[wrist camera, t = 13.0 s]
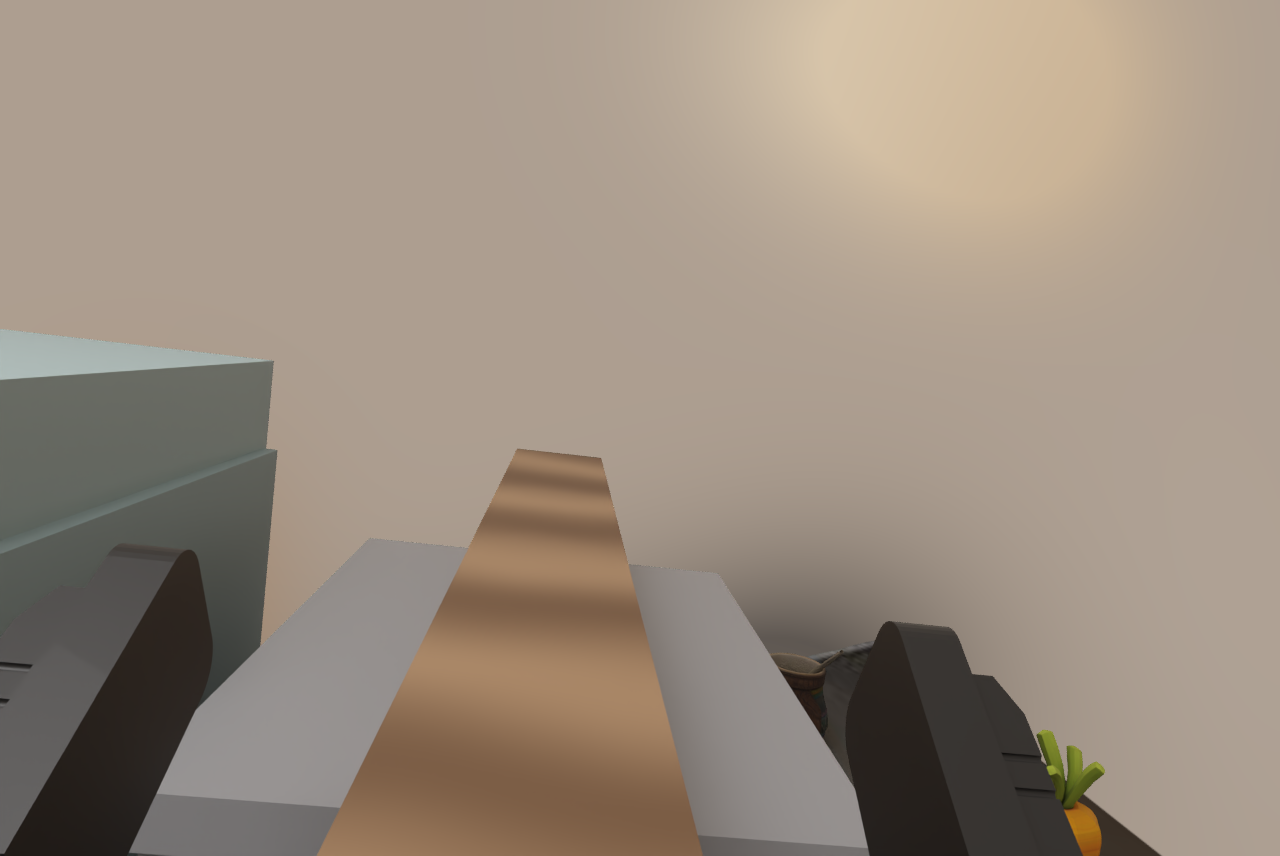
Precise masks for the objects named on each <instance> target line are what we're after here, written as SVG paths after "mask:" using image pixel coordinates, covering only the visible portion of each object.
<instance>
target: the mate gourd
mask: <svg viewBox="0 0 1280 856" xmlns="http://www.w3.org/2000/svg"><path fill="white" fill-rule="evenodd" d="M842 654H843V651H842V650H841V651H840V652H837V653H836V654H834V656H832V657H831V658H830V659H828V660H827V661H824V663H822V664H820V663H818V662H816V661H814V660H812V659H809V658H807V657H804V656H800V655H795V654H789V653H773V654H769V655H770V656H771V658H772V659H773V661H774V662H775V664H776V666H777V667H778V669H779V670H780V672H781V673H782V675H783V677H784V678H785V680H786V681H787V683H788V685H789V686H790V688H791V689H792V691H793V692H794V694H795V696H796V697H797V699H798V700H799V702H800V703H801V705H802V707H803V708H804V710H805V711H806V713H807V715H808V716H809V718H810V719H811V721H812V722H813V724H814V726H815V727H816V729H817V730H818V732H819V733H820V735H821V737H822V738H823V737H824V733H825V731H826V727H827V726H828V724H827V722H828V717H827V708H826V705H825V701H824V696H823V684H824V680H825V674H826V670H825V667H826V666H828V665H829V664H831V663H832V662H833V661H834V660H836V659H837V658H838V657H839V656H841V655H842Z"/></svg>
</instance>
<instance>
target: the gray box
mask: <svg viewBox="0 0 1280 856" xmlns="http://www.w3.org/2000/svg"><path fill="white" fill-rule="evenodd" d="M467 550H468V548H462V547H452V546H442V545H432V544H422V543H413V542H403V541H392V540H382V539H373V538H370V539H369V540H367V541H366V543H364V544H363V546H361V548H359V549H358V550H357V551H356V552H355V553H354V554H353V555H352V556H351V557H350V558H349V559H348V560H347V561H346V562H345V563H344V564H343V565H342V566H341V567H340V568H339V569H338V570H337V571H336V572H335V573H334V574H333V575H332V576H331V577H330V578H329V579H328V580H327V581H326V582H325V583H324V584H323V585H322V586H321V587H320V588H319V589H318V590H317V591H316V592H315V593H314V594H313V595H312V596H311V597H310V598H309V599H308V600H307V601H306V602H305V603H304V604H303V605H302V606H301V607H300V608H299V609H298V610H297V611H296V612H295V613H294V614H293V615H292V616H291V617H290V618H289V619H288V620H287V621H286V622H284V624H283V625H281V626H280V627H279V628H278V630H276V632H274V633H273V634H272V635H271V636H270V638H268V639H267V640H266V641H265V642H264V643H263V644H262V645H261V646H260V647H259V648H258V649H257V650H256V651H255V652H254V653H253V654H252V655H251V656H250V657H249V658H248V659H247V660H246V661H245V662H244V663H243V664H242V665H241V666H240V667H239V668H238V669H237V670H236V671H235V672H234V673H233V674H232V675H231V676H230V677H229V678H228V679H227V680H226V681H225V682H224V683H223V684H222V685H221V686H220V687H219V688H218V689H217V690H216V691H215V692H214V693H213V694H212V695H211V696H210V697H209V698H208V699H207V700H206V701H205V702H204V703H202V704H201V705H200V706H199V707H198V708H197V709H196V711H195V713H194V715H193V717H192V719H191V721H190V723H189V725H188V728H187V730H186V732H185V734H184V736H183V738H182V740H181V742H180V745H179V747H178V749H177V751H176V753H175V755H174V757H173V759H172V762H171V764H170V766H169V768H168V770H167V772H166V774H165V776H164V779H163V781H162V783H161V785H160V787H159V789H158V791H157V793H156V796H155V798H154V800H153V802H152V804H151V806H150V808H149V811H148V813H147V815H146V817H145V819H144V821H143V823H142V825H141V828H140V830H139V832H138V834H137V836H136V838H135V840H134V842H133V845H132V847H131V849H130V851H129V853H138V854H137V856H317V854H318V852H319V850H320V848H321V846H322V844H323V842H324V840H325V838H326V836H327V834H328V832H329V830H330V828H331V826H332V824H333V822H334V820H335V818H336V815H337V813H338V811H339V809H340V807H341V805H342V803H343V801H344V799H345V797H346V795H347V793H348V791H349V789H350V787H351V785H352V783H353V781H354V779H355V777H356V775H357V773H358V771H359V769H360V767H361V765H362V763H363V761H364V759H365V757H366V755H367V753H368V751H369V749H370V747H371V745H372V742H373V740H374V738H375V736H376V734H377V732H378V730H379V728H380V726H381V724H382V722H383V720H384V718H385V716H386V714H387V712H388V710H389V708H390V706H391V704H392V702H393V700H394V698H395V696H396V694H397V692H398V690H399V688H400V686H401V684H402V682H403V680H404V678H405V676H406V674H407V671H408V669H409V667H410V665H411V663H412V661H413V659H414V657H415V655H416V653H417V651H418V649H419V647H420V645H421V643H422V641H423V639H424V637H425V635H426V633H427V631H428V629H429V627H430V625H431V623H432V621H433V619H434V617H435V615H436V613H437V611H438V609H439V607H440V605H441V603H442V600H443V598H444V596H445V594H446V592H447V590H448V588H449V586H450V584H451V582H452V580H453V578H454V576H455V574H456V572H457V570H458V568H459V566H460V564H461V562H462V560H463V558H464V556H465V554H466V552H467ZM628 565H629V569H630V573H631V577H632V581H633V585H634V589H635V592H636V596H637V600H638V604H639V608H640V612H641V616H642V620H643V624H644V628H645V631H646V635H647V639H648V643H649V647H650V651H651V655H652V659H653V663H654V667H655V670H656V674H657V678H658V682H659V686H660V690H661V694H662V698H663V702H664V706H665V709H666V713H667V717H668V721H669V725H670V729H671V733H672V737H673V741H674V745H675V748H676V752H677V756H678V760H679V764H680V768H681V772H682V776H683V780H684V784H685V787H686V791H687V795H688V799H689V803H690V807H691V811H692V815H693V819H694V823H695V826H696V830H697V834H698V838H699V842H700V846H701V850H702V854H703V856H869V851H868V846H867V842H866V837H865V833H864V828H863V823H862V819H861V814H860V810H859V805H858V800H857V796H856V791H855V789H854V787H853V786H852V784H851V782H850V781H849V779H848V778H847V776H846V774H845V773H844V771H843V770H842V768H841V767H840V765H839V763H838V762H837V760H836V759H835V757H834V756H833V754H832V752H831V751H830V749H829V748H828V746H827V745H826V743H825V741H824V740H823V738H822V737H821V735H820V733H819V732H818V730H817V729H816V727H815V726H814V724H813V722H812V721H811V719H810V718H809V716H808V715H807V713H806V711H805V710H804V708H803V707H802V705H801V703H800V702H799V700H798V699H797V697H796V696H795V694H794V692H793V691H792V689H791V688H790V686H789V685H788V683H787V681H786V680H785V678H784V677H783V675H782V673H781V672H780V670H779V669H778V667H777V666H776V664H775V662H774V661H773V659H772V658H771V656H770V655H769V653H768V652H767V650H766V648H765V647H764V645H763V644H762V642H761V640H760V639H759V637H758V636H757V634H756V632H755V631H754V629H753V628H752V626H751V625H750V623H749V621H748V620H747V618H746V617H745V615H744V613H743V612H742V610H741V609H740V607H739V606H738V604H737V602H736V601H735V599H734V598H733V596H732V595H731V593H730V591H729V590H728V588H727V587H726V585H725V583H724V582H723V580H722V579H721V577H720V576H719V574H718V573H709V572H700V571H689V570H680V569H670V568H660V567H650V566H640V565H630V564H628Z"/></svg>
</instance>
